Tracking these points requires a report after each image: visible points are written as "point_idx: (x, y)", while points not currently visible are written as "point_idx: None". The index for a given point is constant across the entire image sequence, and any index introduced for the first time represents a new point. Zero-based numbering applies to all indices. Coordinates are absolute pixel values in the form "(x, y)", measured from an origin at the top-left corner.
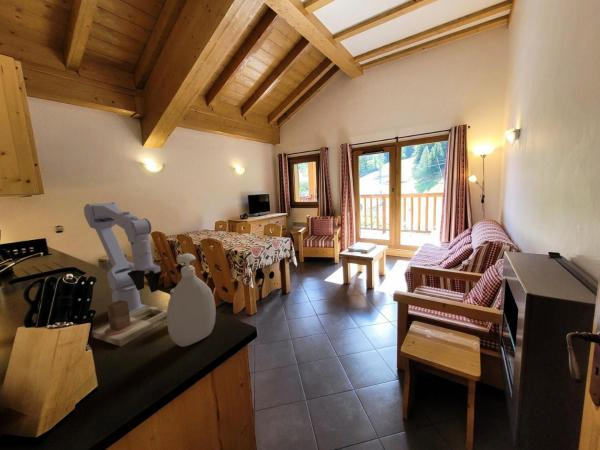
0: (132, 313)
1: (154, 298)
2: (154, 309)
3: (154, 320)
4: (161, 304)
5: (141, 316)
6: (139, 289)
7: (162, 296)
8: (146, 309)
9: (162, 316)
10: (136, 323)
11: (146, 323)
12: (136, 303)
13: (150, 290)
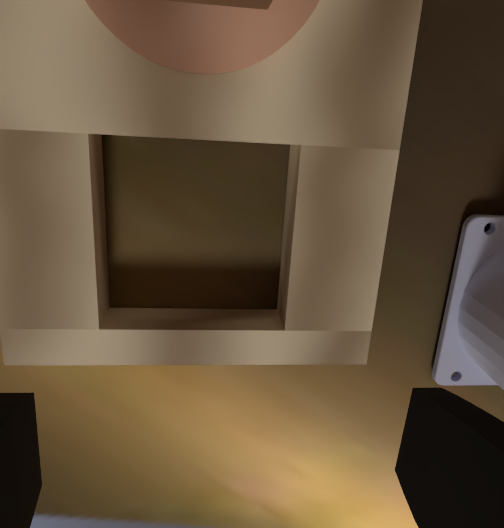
0: (375, 206)
1: None
2: (232, 330)
3: (1, 170)
4: (336, 439)
5: (287, 228)
6: (413, 408)
7: None
8: (309, 305)
9: (7, 256)
10: (128, 61)
11: (18, 94)
12: (488, 339)
13: (10, 409)
